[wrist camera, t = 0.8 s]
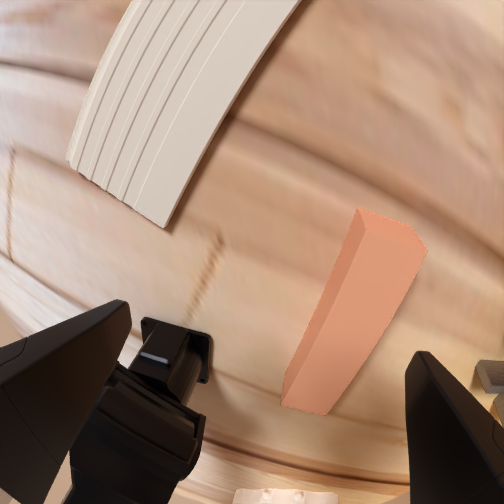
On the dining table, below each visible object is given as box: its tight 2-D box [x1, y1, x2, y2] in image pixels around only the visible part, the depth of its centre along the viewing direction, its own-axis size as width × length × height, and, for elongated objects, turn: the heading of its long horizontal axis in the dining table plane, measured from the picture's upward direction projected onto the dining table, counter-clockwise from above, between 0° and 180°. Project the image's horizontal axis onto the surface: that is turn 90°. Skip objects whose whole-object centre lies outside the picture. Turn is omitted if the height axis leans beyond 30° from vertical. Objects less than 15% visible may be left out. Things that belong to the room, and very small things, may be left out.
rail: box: [280, 208, 428, 416], centre depth 21 cm, size 16×4×4 cm, turn 166°
